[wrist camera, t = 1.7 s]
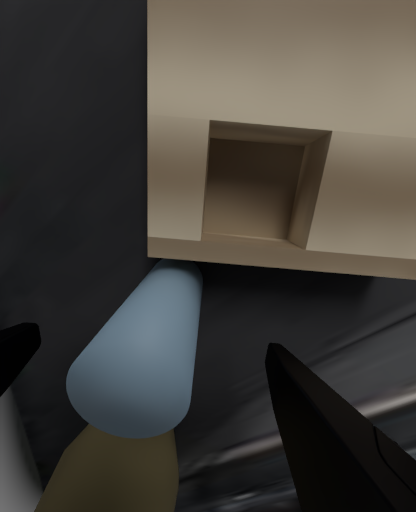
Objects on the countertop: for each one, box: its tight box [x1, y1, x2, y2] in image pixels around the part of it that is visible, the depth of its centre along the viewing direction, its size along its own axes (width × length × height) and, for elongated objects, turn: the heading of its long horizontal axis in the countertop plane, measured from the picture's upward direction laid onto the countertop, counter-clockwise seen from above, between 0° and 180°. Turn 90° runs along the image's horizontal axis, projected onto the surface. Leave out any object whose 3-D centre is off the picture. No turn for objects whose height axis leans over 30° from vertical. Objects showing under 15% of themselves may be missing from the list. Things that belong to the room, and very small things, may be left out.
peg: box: [66, 258, 203, 439], centre depth 9 cm, size 4×4×8 cm
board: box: [148, 0, 416, 280], centre depth 9 cm, size 14×14×3 cm
